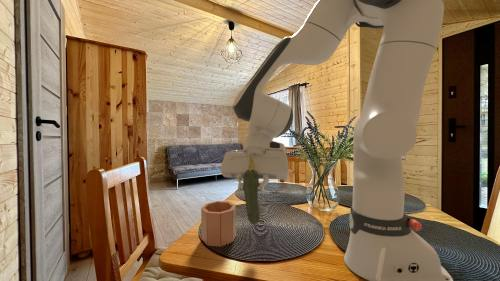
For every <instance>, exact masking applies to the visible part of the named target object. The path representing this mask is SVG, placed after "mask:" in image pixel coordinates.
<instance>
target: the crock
mask: <svg viewBox="0 0 500 281" xmlns="http://www.w3.org/2000/svg"><path fill="white" fill-rule="evenodd" d="M200 214H201V215H200V216H201V217H200V219H201V241H203V242H204V244H205V245H206V246H210V247H211V246H212V247H220V248H221V247H224V246H226V244H227V245H229V243H230V244H232V243H231V242H233V241H235V240H234V239H236V238H235V236H236V237H237V205H236V204H234V203H233V202H231V201H226V200H216V201H215V200H214V201H211V202H210V201H209V202H206V203H205V204H204V205H203V206H202V207H201V209H200ZM233 243H234V242H233Z"/></svg>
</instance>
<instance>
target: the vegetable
mask: <svg viewBox="0 0 500 281" xmlns="http://www.w3.org/2000/svg"><path fill="white" fill-rule="evenodd" d="M254 169H255V163H254V160H253V157H252V156H250V159H249V163H248V170H247V171H246V172H245V173H244V177H243V180H242V183H243V189H244V191H243V194H244V200H245V209H246V211H245V212H246V215H247V219H248V221H249V222H250V224H251V225H252V226H255V225H256V226H257V225H258V223H259V221H260V205H259V198H258V196H259V195H258V194H259V192H258V183H259V182H260V181H259V180H260V179H259V177H258V174H257V172H256V171H255V170H254Z"/></svg>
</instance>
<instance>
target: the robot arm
mask: <svg viewBox="0 0 500 281" xmlns="http://www.w3.org/2000/svg"><path fill="white" fill-rule="evenodd" d="M444 11H445V4H444V1H443V0H318V1H316V3H315V4H314V6H313V8H312V9H311V11H309V14H308V15H307V18H306V19H305V20H304V22H303V24H302V25H301V27H300V28H299V30H298V31H297V32H295V33H294V34H293V35H292V36H284V38H282V39H281V40H279V42H278V43H276V45H275V46H274V47H273V49H272V50H271V51H270V53H269V54H268V55H267V57H266V58H265V59H264V60H263V62H262V63H261V64H260V66H259V67H258V69H257V70H256V71H255V72H254V75H252V77H251V78H250V80H248V82H247V83H246V84H245V85H244V87H243V88H242V89H241V90H240V91H238V94H237V95H236V96H235V99H234V101H233V104H232V109H233V111H234V114H235V115H236V118H238V120H242V121H245V122H249V123H248V126H247V136H246V138H245V140H244V145H243V149H236V150H235V149H231V150H229V151H227V152H225V154H224V156H223V159H222V162H221V165H220V168H219V170H220V173H221V175H222V176H223V178H234V179H235V178H236V180H237V184H238V185H237V190H238V192H239V191H241V192H244V189H243V177H244V173H245V172H246V171H247V170H248V163H249V159H250V156H252V157H253V160H254V163H255V169H254V170H255V171H256V172H257V174H258V177H259V180H262V181H261V183H258V193H259V192H260V193H264V192H265V187H266V186H267V185H268V184H269V182H270V180H284V181H286V180H288V178H289V177H290V168H289V160H288V155H287V153H286V147H285V144H284V143H283V142H278V141H274V139H278V138H279V137H281V136H282V135H283V136H284V135H285V134H286V133H287V132H288V131H289V130H290V129H291V127H292V125H293V120H294V111H293V109H292V107H291V106H290V105H289V104H287V103H285V102H284V101H282V100H279V99H277V98H275V97H273V96H271V95H269V94H267V93H265V92H263V88H265V86H266V85H267V84H268V82H269V81H270V79H271V78H272V77H273V75H274V74H275V73H276V71H278V69H279V68H280V67H282V66H284V65H289V64H292V65H293V64H295V65H305V66H316V65H320V64H323V63H325V62H326V61H328V60H329V59H330V58H331V57H332V56H333V55H334V53H335V51H336V50H337V49H338V47H339V45H340V44H341V42H342V40H343V39H344V38H345V35H346V34H347V33H348V31H349V29H350V28H351V27H352V26H353V25H356V27H358V28H369V29H377V30H380V29H381V30H382V33H381V34H382V35H381V38H380V42H379V45H378V47H377V51H376V54H375V59H374V62H373V66H372V69H371V72H370V75H369V79H368V84H367V88H366V92H365V97H364V101H363V105H362V109H361V112H360V116H359V118H357V120H356V122H355V124H354V126H353V137H352V138H353V139H352V140H353V141H352V142H353V145H352V146H353V148H352V151H353V154H352V155H353V158H352V164H353V165H352V167H353V168H352V173H353V174H352V176H353V179H352V205H351V206H350V212H349V228H350V232H349V240H348V244H347V247H346V251H345V253H344V256H343V261H344V263H345V265H346V267H347V268H348V269H349V270H351V271H352V272H353V273H354V274H356V275H357V276H359V277H361V278H363V279H365V280H366V281H454V279H453V277H452V275H450V273H449V272H448V271H447V270H446V269H445V267H444V266H442V265H441V264H442V262H441V260H440V257H439V254H438V253H437V251H436V250H435V248H433V246H431V244H430V243H428V241H426V240H425V239H424V238H423V237H421V236H420V235H419V234H418V233H416V232H419V231H421V230H422V229H423V226H422V224H421V223H420V222H419V221H418V220H416V219H414V218H413V219H412V217H411V216H410V215H408V214H406V213H405V212H404V210H405V208H404V207H405V189H406V180H405V175H404V167H403V156H405V155H406V154H407V153H409V152H410V151H411V150H413V148H414V146H415V144H416V142H417V137H418V136H417V135H418V133H417V128H418V125H419V119H420V113H421V106H422V101H423V93H424V88H425V86H426V82H427V79H428V75H429V73H430V69H431V66H432V63H433V59H434V57H435V55H436V54H435V53H436V51H437V48H438V45H439V41H440V36H441V32H442V29H443V27H442V26H443V21H444V14H445V12H444ZM446 279H448V280H446Z"/></svg>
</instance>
